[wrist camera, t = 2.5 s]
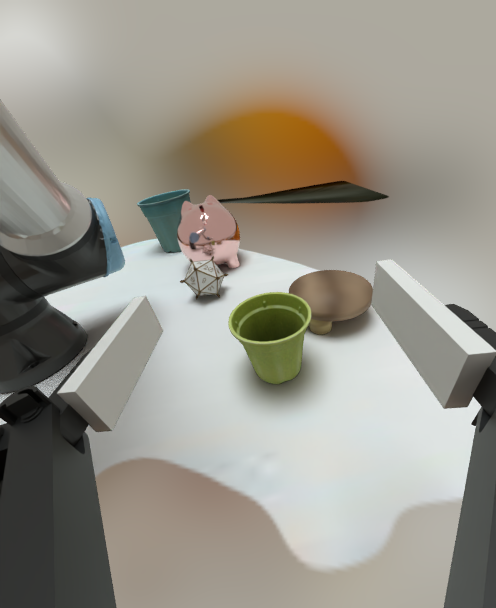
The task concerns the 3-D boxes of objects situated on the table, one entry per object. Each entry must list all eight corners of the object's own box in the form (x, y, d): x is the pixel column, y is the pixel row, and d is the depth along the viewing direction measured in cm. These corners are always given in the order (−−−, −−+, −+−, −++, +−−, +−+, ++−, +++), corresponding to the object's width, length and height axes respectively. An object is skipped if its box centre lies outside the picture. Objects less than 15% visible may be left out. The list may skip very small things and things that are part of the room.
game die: (221, 303, 54) (239, 263, 51) (207, 314, 46) (227, 268, 43) (187, 286, 54) (202, 245, 51) (167, 293, 46) (184, 246, 43)
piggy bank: (236, 245, 72) (224, 188, 63) (252, 268, 57) (239, 198, 49) (187, 259, 71) (167, 202, 62) (190, 285, 56) (164, 216, 47)
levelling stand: (296, 341, 35) (293, 317, 32) (287, 297, 44) (285, 275, 42) (383, 332, 33) (388, 306, 30) (354, 288, 43) (356, 265, 40)
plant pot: (229, 383, 31) (212, 333, 26) (261, 335, 37) (251, 288, 32) (300, 408, 26) (294, 353, 21) (321, 348, 33) (321, 296, 28)
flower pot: (193, 253, 73) (175, 198, 64) (148, 258, 78) (125, 207, 69) (210, 234, 86) (197, 186, 77) (170, 239, 91) (154, 194, 82)
